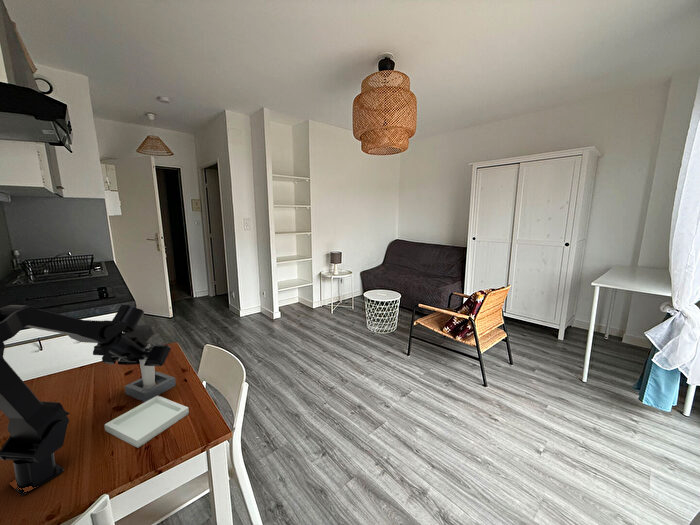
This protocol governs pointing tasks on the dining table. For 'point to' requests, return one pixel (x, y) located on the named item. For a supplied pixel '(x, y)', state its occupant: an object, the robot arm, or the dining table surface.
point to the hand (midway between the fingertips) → (152, 362)
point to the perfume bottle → (147, 373)
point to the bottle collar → (144, 395)
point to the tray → (146, 420)
